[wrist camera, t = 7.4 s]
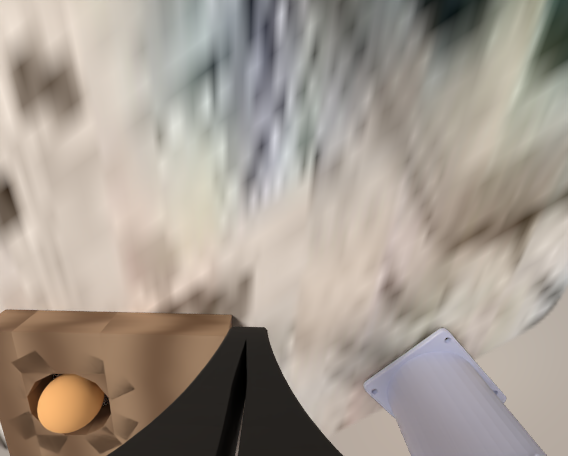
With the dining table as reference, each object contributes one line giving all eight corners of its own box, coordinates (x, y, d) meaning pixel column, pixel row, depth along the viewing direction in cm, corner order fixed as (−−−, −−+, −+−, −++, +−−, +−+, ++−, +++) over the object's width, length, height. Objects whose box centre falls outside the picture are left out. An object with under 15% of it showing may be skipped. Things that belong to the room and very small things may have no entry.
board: (231, 314, 23) (227, 336, 21) (231, 437, 27) (227, 467, 25) (5, 309, 23) (-26, 331, 20) (37, 436, 26) (13, 467, 24)
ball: (76, 367, 26) (122, 374, 25) (54, 425, 24) (103, 433, 23) (39, 364, 22) (92, 372, 22) (10, 432, 20) (67, 442, 20)
